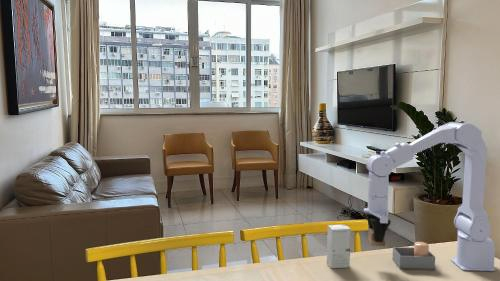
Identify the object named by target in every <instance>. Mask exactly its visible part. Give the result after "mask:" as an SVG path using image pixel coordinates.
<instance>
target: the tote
mask: <svg viewBox="0 0 500 281" xmlns="http://www.w3.org/2000/svg"><path fill="white" fill-rule="evenodd" d="M391 258H392V261H393V262H394V263H395V264H396V266H397V267H398V269H399V270H422V271H423V270H424V271H427V270H429V271H435V270H436V256H435V255H434V254H433V253H432V252H431V251H430V250H428V256H414V247H408V246H407V247H405V246H402V247H398V246H394V247H392V257H391Z"/></svg>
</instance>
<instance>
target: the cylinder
mask: <svg viewBox="0 0 500 281" xmlns="http://www.w3.org/2000/svg"><path fill="white" fill-rule="evenodd" d="M429 246H430V245H429V243H427V242H424V241H415V242H413V248H414V256H428V250H429V248H430V247H429ZM429 251H430V250H429Z"/></svg>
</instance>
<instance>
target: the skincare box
mask: <svg viewBox="0 0 500 281" xmlns="http://www.w3.org/2000/svg"><path fill="white" fill-rule="evenodd" d="M351 232H352V230H351V228H350V227H349V226H348V225H347V224H334V225H333V224H329V225H327V235H326V236H327V238H326V239H327V240H326V241H327V242H326V264H327V265H328V266H329V268H330V269H343V268H344V269H346V268H347V269H348V268H350V266H351V263H350V262H351V260H350V259H351V257H350V256H351V236H352V234H351Z"/></svg>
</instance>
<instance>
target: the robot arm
mask: <svg viewBox="0 0 500 281" xmlns="http://www.w3.org/2000/svg"><path fill="white" fill-rule="evenodd" d="M484 141H485V140H484V139H483V137H482V130H480V129H479V128H478V126H475V125H474V124H472V123H461V122H455V121H449V122H447V123H446V124H442V125H440V126H438V127H437V128H435V129H433V130H432V131H430V132H428V133H426V134H425V135H422V136H421V137H419V138H417V139H416V140H414V141H412V142H410V143H406V142H401V143H400V142H396V143H394V146H393V147H391V148H389V149H387V150H381V151H380V154H373V155H371V156H370V157H369V158H368V159H367V162H366V164H365V167H366V169H367V170H368V184H367V186H368V188H367V189H368V190H367V208H366V207H365V208H363V212H364V215H365V216H366V219H367V222H368V226H369V227H368V228H371V229H373V231H374V239H375V242H383V239H384V236H385V237H386V233H387V229H388V228H389V226H390V225H391V222H392V221H391V220H390V219H389V215H388V214H389V184H390V182H389V178H390V177H389V175H391V173H392V172H393V170H395V169H397V168H399V167H401V166H403V165H405V164H407V163H409V162H411V161H413V160H414V157H415V155H416V154H418V153H421V152H422V151H425V150H427V149H429V148H431V147H434V146H436V145H438V144H451V145H454V146H456V147H458V149H459V150H460V151H462V152H463V153H464V154H465V155H464V167H463V168H464V170H463V187H462V188H463V190H462V201H461V202H462V203H461V204H460V206H458V208H457V212H456V215H455V216H454V218H453V225H454V227H455V228H456V229H457V238H456V240H457V241H456V242H457V243H456V257H450V260H451V261H452V262H453V263H454V264H455V265H456V266H457V267H458V268H460V269H461V270H462V271H477V272H478V271H481V272H482V271H483V272H495V271H496V268H495V258H496V257H495V254H496V247H495V243H494V241H493V239H492V238H490V236H491V233H492V226H491V224H490V222H489V219H490V218H489V215H488V213H487V211H486V210H485V207H484V202H485V201H484V200H485V185H486V184H485V183H486V171H487V168H486V167H487V154H488V149H487V145H486V143H485V142H484Z"/></svg>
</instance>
